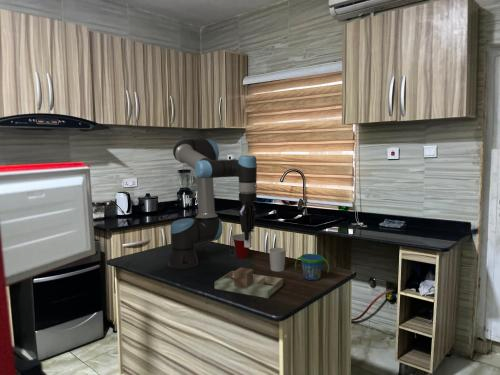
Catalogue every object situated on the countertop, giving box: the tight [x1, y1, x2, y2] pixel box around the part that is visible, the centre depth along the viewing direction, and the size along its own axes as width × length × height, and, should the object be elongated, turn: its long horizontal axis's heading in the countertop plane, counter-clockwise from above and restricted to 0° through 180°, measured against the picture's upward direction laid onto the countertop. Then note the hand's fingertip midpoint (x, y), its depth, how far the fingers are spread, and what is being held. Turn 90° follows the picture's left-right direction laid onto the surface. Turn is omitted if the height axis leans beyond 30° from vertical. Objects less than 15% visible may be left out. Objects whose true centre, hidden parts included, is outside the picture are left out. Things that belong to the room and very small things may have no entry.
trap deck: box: [214, 270, 284, 299], centre depth 164 cm, size 25×16×3 cm, turn 64°
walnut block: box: [233, 267, 254, 288], centre depth 159 cm, size 6×6×6 cm
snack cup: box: [294, 253, 330, 281], centre depth 174 cm, size 16×10×10 cm
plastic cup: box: [232, 233, 253, 260], centre depth 208 cm, size 11×11×12 cm
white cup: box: [268, 247, 286, 273], centre depth 187 cm, size 8×8×10 cm
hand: (247, 247), depth 162 cm, fingers closed
